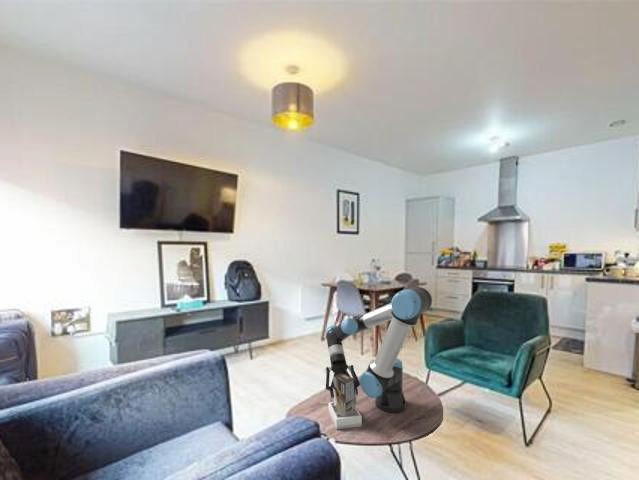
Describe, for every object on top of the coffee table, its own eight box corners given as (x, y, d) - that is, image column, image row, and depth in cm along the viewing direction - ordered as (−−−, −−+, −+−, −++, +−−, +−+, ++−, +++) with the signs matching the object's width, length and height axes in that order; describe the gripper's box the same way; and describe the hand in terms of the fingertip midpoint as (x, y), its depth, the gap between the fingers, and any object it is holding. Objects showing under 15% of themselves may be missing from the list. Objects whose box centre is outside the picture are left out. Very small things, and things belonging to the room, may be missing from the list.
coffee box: (356, 414, 146) (356, 379, 146) (345, 419, 142) (345, 383, 142) (342, 406, 153) (342, 372, 153) (332, 410, 149) (332, 376, 149)
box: (351, 408, 156) (351, 399, 156) (361, 426, 141) (361, 416, 141) (328, 411, 153) (328, 402, 153) (336, 429, 139) (336, 419, 139)
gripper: (356, 357, 165) (367, 404, 149) (314, 361, 160) (321, 409, 145) (359, 351, 159) (371, 398, 144) (316, 354, 155) (324, 403, 139)
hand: (346, 403), depth 144 cm, fingers closed on coffee box, 9 cm apart
